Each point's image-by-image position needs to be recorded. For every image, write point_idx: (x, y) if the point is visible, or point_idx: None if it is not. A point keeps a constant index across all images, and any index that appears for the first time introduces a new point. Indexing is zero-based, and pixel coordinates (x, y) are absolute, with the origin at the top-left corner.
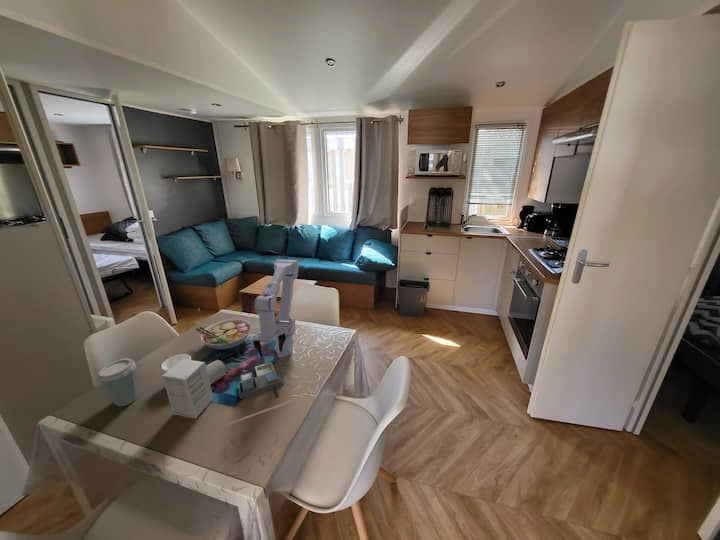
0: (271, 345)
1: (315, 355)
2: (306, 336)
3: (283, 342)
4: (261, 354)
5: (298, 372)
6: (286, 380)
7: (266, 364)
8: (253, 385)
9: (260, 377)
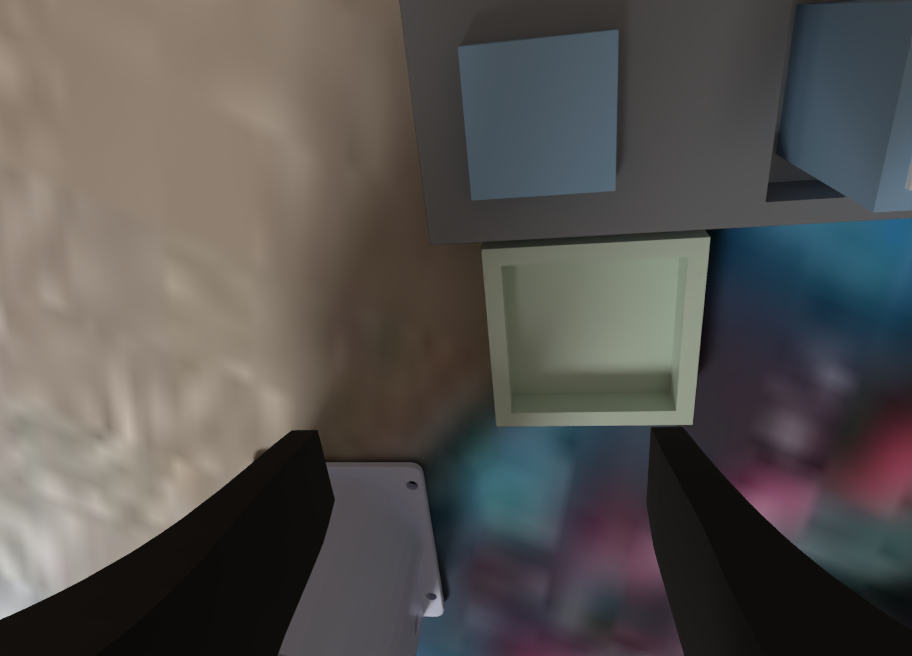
0: (468, 639)
1: (54, 366)
2: None
3: (101, 577)
4: (685, 462)
5: (225, 173)
6: (369, 84)
7: (559, 410)
8: (852, 3)
9: (685, 193)
